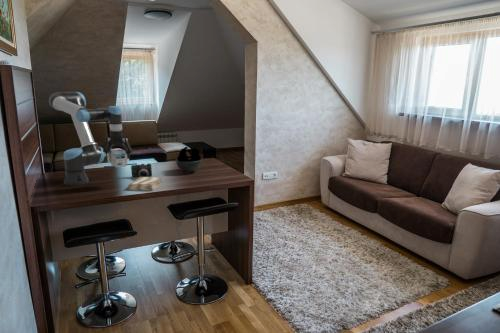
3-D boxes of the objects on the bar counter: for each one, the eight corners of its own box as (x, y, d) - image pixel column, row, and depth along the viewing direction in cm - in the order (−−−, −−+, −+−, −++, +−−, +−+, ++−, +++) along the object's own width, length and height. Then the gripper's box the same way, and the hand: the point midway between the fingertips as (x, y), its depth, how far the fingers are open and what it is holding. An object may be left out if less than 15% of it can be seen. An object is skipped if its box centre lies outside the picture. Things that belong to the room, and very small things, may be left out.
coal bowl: (199, 175, 257) (199, 150, 252) (173, 174, 257) (172, 150, 252) (203, 168, 276) (203, 146, 272) (179, 168, 276) (178, 145, 272)
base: (128, 189, 220) (128, 183, 219) (139, 182, 238) (139, 176, 237) (152, 190, 219) (152, 184, 218) (161, 182, 236) (161, 177, 235)
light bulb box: (126, 166, 224) (125, 150, 221) (116, 168, 219) (115, 151, 217) (120, 163, 232) (119, 147, 229) (110, 164, 227) (109, 148, 225)
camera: (132, 180, 241) (131, 167, 238) (131, 176, 251) (130, 163, 248) (152, 179, 246) (152, 165, 243) (151, 175, 256) (151, 162, 253)
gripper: (95, 130, 217) (98, 163, 222) (131, 131, 215) (133, 165, 221) (101, 128, 224) (103, 160, 230) (136, 130, 222) (138, 162, 228)
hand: (118, 162), depth 225 cm, fingers closed on light bulb box, 12 cm apart
